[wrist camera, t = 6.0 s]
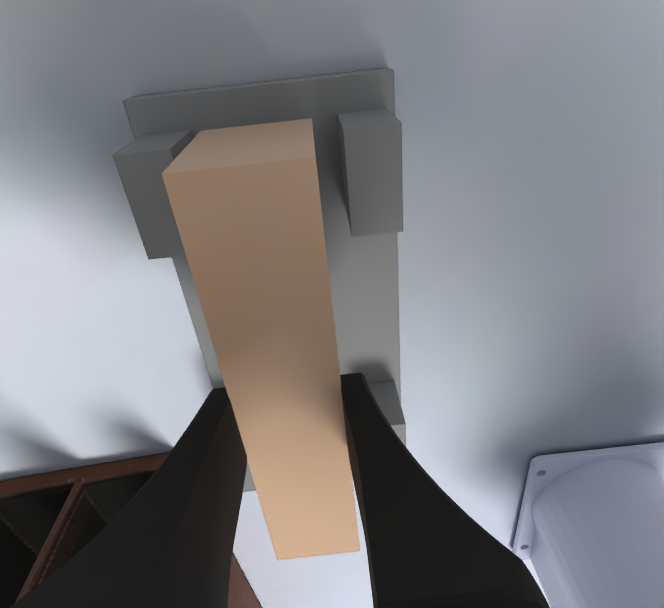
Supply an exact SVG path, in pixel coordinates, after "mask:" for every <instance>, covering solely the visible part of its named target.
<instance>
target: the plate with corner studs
mask: <svg viewBox="0 0 664 608" xmlns="http://www.w3.org/2000/svg"><path fill="white" fill-rule="evenodd" d="M123 103H124V106H125V109H126V112H127V115H128V119H129V122H130V125H131V128H132V131H133V135H134V138H135V141H133V142H132V143H130V144H129V145H127V146H126V147H124V148H123V149H121V150H120V151H118V152H117V153H115V154H114V155H113V158H114V161H115V163H116V166H117V169H118V172H119V175H120V178H121V181H122V184H123V187H124V190H125V192H126V195H127V198H128V201H129V204H130V207H131V210H132V213H133V216H134V218H135V221H136V224H137V227H138V230H139V233H140V236H141V239H142V242H143V245H144V247H145V250H146V253H147V256H148V259H157V258H166V257H172V259H173V262H174V265H175V268H176V272H177V275H178V278H179V281H180V284H181V287H182V291H183V294H184V297H185V300H186V303H187V307H188V310H189V313H190V316H191V319H192V322H193V326H194V329H195V332H196V335H197V338H198V342H199V345H200V348H201V351H202V354H203V358H204V361H205V364H206V367H207V370H208V373H209V377H210V380H211V383H212V386H213V389H215V388H224V387H225V384H224V381H223V377H222V374H221V371H220V367H219V364H218V361H217V357H216V354H215V351H214V347H213V344H212V341H211V337H210V334H209V331H208V327H207V324H206V321H205V317H204V314H203V310H202V307H201V304H200V300H199V297H198V294H197V290H196V287H195V284H194V280H193V277H192V274H191V270H190V267H189V264H188V260H187V257H186V254H185V250H184V247H183V244H182V240H181V237H180V234H179V230H178V227H177V224H176V220H175V217H174V214H173V210H172V207H171V204H170V200H169V197H168V194H167V190H166V187H165V184H164V180H163V177H162V173H163V172H164V171H165V169H166V168H167V167H168V166H169V165H170V164H171V163H172V162H173V161H174V160H175V158H176V157H177V156H178V155H179V154H180V153H181V152H182V151H183V150H184V149H185V147H186V146H187V145H188V144H189V143H190V142H191V141H192V140H193V139H194V138H195V136H196V135H197V134H198V133H199V132H200V131H203V130H211V129H220V128H229V127H238V126H247V125H256V124H265V123H274V122H283V121H291V120H300V119H309V118H312V125H313V134H314V143H315V152H316V160H317V169H318V178H319V187H320V196H321V205H322V214H323V223H324V232H325V240H326V249H327V258H328V267H329V276H330V285H331V294H332V303H333V312H334V320H335V329H336V338H337V347H338V356H339V365H340V374H341V375H342V374H351V373H360V372H361V373H362V374H364V375H365V378H366V381H367V383H368V386H369V388H370V390H371V392H372V394H373V396H374V398H375V400H376V402H377V404H378V406H379V407H380V409H381V411H382V413H383V414H384V416H385V417H386V419H387V420H388V422H389V424H390V425H391V427H392V428H393V430H394V431H395V433H396V434H397V436H398V437H399V438H400V440H401V441H402V443H403V444H404V445H405V447H406V424H405V420H404V416H403V412H402V408H401V391H400V343H399V296H398V249H397V232H401V231H403V200H402V128H401V122H400V121H399V120H398V119H397V118H396V117H395V107H394V70H392V69H390V68H382V69H373V70H364V71H355V72H346V73H337V74H328V75H320V76H311V77H302V78H293V79H284V80H275V81H266V82H257V83H249V84H240V85H231V86H222V87H213V88H204V89H195V90H186V91H178V92H169V93H160V94H151V95H142V96H134V97H131V98H129V99H126V100H124V101H123ZM247 491H256V487H255V484H254V481H253V477H252V474H251V471H250V467H249V464H248V461H247V469H246V476H245V481H244V487H243V492H247Z"/></svg>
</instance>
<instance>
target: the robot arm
mask: <svg viewBox="0 0 664 608" xmlns="http://www.w3.org/2000/svg"><path fill="white" fill-rule="evenodd" d="M340 377H341V394H342V403H343V411H344V420H345V429H346V438H347V446H348V455H349V461H350V466H351V471H352V476H353V481H354V486H355V491H356V495H357V500H358V505H359V510H360V515H361V520H362V525H363V529H364V535H365V541H366V547H367V555H368V564H369V572H370V580H371V589H372V597H373V606H374V608H550V607H549V605H548V603H547V601H546V599H545V597H544V595H543V593H542V592H541V590H540V588H539V586H538V584H537V583H536V581H535V579H534V578H533V576H532V575H531V573H530V571H529V570H528V568H527V567H526V565H525V564H524V562H523V561H522V560H526V559H531V561H532V563H533V566H534V568H535V570H536V573H537V575H538V577H539V580H540V582H541V585H542V587H543V589H544V592H545V594H546V596H547V599H548V601H549V603H550V606H551V608H664V442H660V443H651V444H642V445H632V446H623V447H614V448H605V449H595V450H586V451H577V452H567V453H558V454H549V455H540V456H537V457H535V458H533V459H532V461H531V463H530V467H529V472H528V477H527V482H526V487H525V492H524V496H523V501H522V506H521V511H520V516H519V521H518V526H517V530H516V535H515V540H514V545H513V550H512V552H511V551H510V550H509V549H508V548H506V547H505V546H504V545H502V544H501V543H500V542H499V541H498V540H496V539H495V538H494V537H493V536H492V535H490V534H489V533H488V532H487V531H486V530H484V529H483V528H482V527H481V526H480V525H479V524H478V523H476V522H475V521H474V520H473V519H472V518H471V517H470V516H469V515H468V514H466V513H465V512H464V511H463V510H462V509H461V508H460V507H459V506H458V505H457V504H456V503H455V502H454V501H453V500H452V499H451V498H450V497H449V496H448V495H447V494H446V493H445V492H444V491H443V490H442V489H441V488H440V487H439V486H438V485H437V484H436V483H435V481H434V480H433V479H432V478H431V477H430V476H429V475H428V474H427V473H426V471H425V470H424V469H423V468H422V467H421V466H420V464H419V463H418V462H417V461H416V460H415V458H414V457H413V456H412V454H411V453H410V452H409V451H408V449H407V448H406V447H405V445H404V444H403V443H402V441H401V440H400V438H399V437H398V436H397V434H396V433H395V431H394V430H393V428H392V427H391V425H390V424H389V422H388V420H387V419H386V417H385V416H384V414H383V413H382V411H381V409H380V407H379V406H378V404H377V402H376V400H375V398H374V396H373V394H372V392H371V390H370V388H369V386H368V383H367V381H366V378H365V375H364V374H362V373H361V372H360V373H351V374H342V375H340ZM246 469H247V455H246V451H245V448H244V445H243V441H242V438H241V435H240V431H239V428H238V425H237V421H236V418H235V414H234V411H233V408H232V404H231V401H230V398H229V397H228V394H227V391H226V387H224V388H215V389H213V390H212V391H211V392H210V394H209V395H208V397H207V398H206V400H205V402H204V403H203V405H202V406H201V408H200V409H199V411H198V413H197V414H196V416H195V417H194V419H193V420H192V422H191V423H190V425H189V426H188V428H187V429H186V431H185V432H184V433H183V435H182V436H181V438H180V439H179V441H178V442H177V443H176V445H175V446H174V448H173V449H172V450H171V452H170V453H169V454H168V456H167V457H166V458H165V460H164V461H163V462H162V463H161V465H160V466H159V467H158V469H157V470H156V471H155V472H154V474H153V475H152V476H151V477H150V479H149V480H148V481H147V482H146V483H145V485H144V486H143V487H142V488H141V489H140V490H139V492H138V493H137V494H136V495H135V496H134V497H133V498H132V499H131V500H130V502H129V503H128V504H127V505H126V506H125V507H124V508H123V509H122V510H121V511H120V512H119V513H118V514H117V515H116V516H115V517H114V518H113V519H112V520H111V521H110V522H109V523H108V524H107V525H106V526H105V527H104V528H103V529H102V530H101V531H100V532H99V533H98V534H97V535H96V536H95V537H94V538H93V539H92V540H91V541H90V542H89V543H88V544H86V545H85V546H84V547H83V548H82V549H81V550H80V551H79V552H77V553H76V554H75V555H74V556H73V557H72V558H71V559H69V560H68V561H67V562H66V563H65V564H64V565H62V566H61V567H60V568H59V569H58V570H57V571H55V572H54V573H53V574H52V575H50V576H49V577H48V578H47V579H46V580H44V581H43V582H42V583H40V584H39V585H38V586H37V587H35V588H34V589H33V590H31V591H30V592H29V593H28V594H26V595H25V596H24V597H22V598H21V599H20V600H18V601H17V602H16V603H15V604H13V605H12V606H11V607H9V608H227V607H228V593H229V581H230V568H231V559H232V551H233V544H234V538H235V533H236V527H237V521H238V516H239V510H240V505H241V499H242V493H243V487H244V481H245V476H246Z"/></svg>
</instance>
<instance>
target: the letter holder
mask: <svg viewBox="0 0 664 608" xmlns="http://www.w3.org/2000/svg"><path fill="white" fill-rule="evenodd" d="M169 453H170V452H169ZM169 453H164V454H158V455H152V456H146V457H140V458H134V459H128V460H122V461H116V462H109V463H104V464H98V465H92V466H86V467H80V468H73V469H68V470H62V471H56V472H50V473H45V474H37V475H32V476H27V477H21V478H16V479H10V480H4V481H0V608H9V607H11V606H12V605H13V604H15V603H16V602H17V601H18V600H20V599H21V598H22V597H24V596H25V595H26V594H28V593H29V592H30V591H31V590H33V589H34V588H35V587H37V586H38V585H39V584H40V583H42V582H43V581H44V580H46V579H47V578H48V577H49V576H50V575H52V574H53V573H54V572H55V571H57V570H58V569H59V568H60V567H61V566H62V565H64V564H65V563H66V562H67V561H68V560H69V559H71V558H72V557H73V556H74V555H75V554H76V553H77V552H79V551H80V550H81V549H82V548H83V547H84V546H85V545H86V544H88V543H89V542H90V541H91V540H92V539H93V538H94V537H95V536H96V535H97V534H98V533H99V532H100V531H101V530H102V529H103V528H104V527H105V526H106V525H107V524H108V523H109V522H110V521H111V520H112V519H113V518H114V517H115V516H116V515H117V514H118V513H119V512H120V511H121V510H122V509H123V508H124V507H125V506H126V505H127V504H128V503H129V502H130V500H131V499H132V498H133V497H134V496H135V495H136V494H137V493H138V492H139V490H140V489H141V488H142V487H143V486H144V485H145V483H146V482H147V481H148V480H149V479H150V477H151V476H152V475H153V474H154V472H155V471H156V470H157V469H158V467H159V466H160V465H161V463H162V462H163V461H164V460H165V458H166V457H167V456H168V454H169ZM227 608H262V607H261V605H260V604H259V602H258V600H257V598H256V597H255V594H254V592H253V591H252V589H251V587H250V586H249V583H248V582H247V579H246V578H245V576H244V574H243V572H242V570H241V568H240V566H239V565H238V562H237V560H236V559H235V557H234V555H233V553H232V559H231V568H230V581H229V593H228V607H227Z"/></svg>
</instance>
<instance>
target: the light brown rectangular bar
mask: <svg viewBox="0 0 664 608" xmlns="http://www.w3.org/2000/svg"><path fill="white" fill-rule="evenodd" d="M162 177H163V180H164V184H165V187H166V190H167V194H168V197H169V200H170V204H171V207H172V210H173V214H174V217H175V220H176V224H177V227H178V230H179V234H180V237H181V240H182V244H183V247H184V250H185V254H186V257H187V260H188V264H189V267H190V270H191V274H192V277H193V280H194V284H195V287H196V290H197V294H198V297H199V300H200V304H201V307H202V310H203V314H204V317H205V321H206V324H207V327H208V331H209V334H210V337H211V341H212V344H213V347H214V351H215V354H216V357H217V361H218V364H219V367H220V371H221V374H222V377H223V381H224V384H225V387H226V391H227V394H228V397H229V398H230V401H231V404H232V408H233V411H234V414H235V418H236V421H237V425H238V428H239V431H240V435H241V438H242V441H243V445H244V448H245V451H246V455H247V461H248V464H249V467H250V471H251V474H252V477H253V481H254V484H255V487H256V491H257V494H258V497H259V501H260V504H261V507H262V511H263V514H264V517H265V521H266V524H267V528H268V531H269V534H270V538H271V541H272V544H273V548H274V551H275V554H276V558H277V560H283V559H293V558H302V557H311V556H320V555H329V554H339V553H348V552H357V551H360V545H359V536H358V527H357V518H356V509H355V500H354V490H353V481H352V472H351V466H350V461H349V455H348V446H347V438H346V429H345V420H344V411H343V403H342V394H341V377H340V375H341V374H340V365H339V356H338V347H337V338H336V329H335V320H334V312H333V303H332V294H331V285H330V276H329V267H328V258H327V249H326V240H325V232H324V223H323V214H322V205H321V196H320V187H319V178H318V169H317V160H316V152H315V143H314V134H313V125H312V118H309V119H300V120H291V121H283V122H274V123H265V124H256V125H247V126H238V127H229V128H220V129H211V130H203V131H200V132H199V133H198V134H197V135H196V136H195V138H194V139H193V140H192V141H191V142H190V143H189V144H188V145H187V146H186V147H185V149H184V150H183V151H182V152H181V153H180V154H179V155H178V156H177V157H176V158H175V160H174V161H173V162H172V163H171V164H170V165H169V166H168V167H167V168H166V169H165V171H164V172H163V173H162Z"/></svg>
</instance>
